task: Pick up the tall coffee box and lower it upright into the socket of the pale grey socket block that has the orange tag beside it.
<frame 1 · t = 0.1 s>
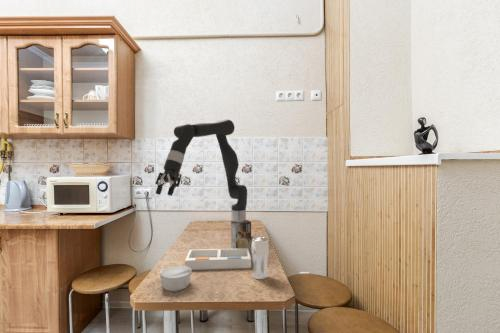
hand: (163, 194, 112), 31 cm above the table, tool tilted 20°, fingers open, 8 cm apart
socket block: (218, 262, 114), on the table
coffee box: (241, 252, 128), on the table
ramekin: (176, 286, 91), on the table
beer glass: (259, 276, 99), on the table
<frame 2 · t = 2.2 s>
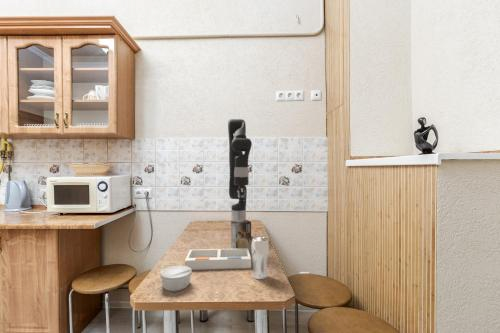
hand: (241, 207, 129), 23 cm above the table, tool pointing down, fingers open, 8 cm apart
nothing on the table moved.
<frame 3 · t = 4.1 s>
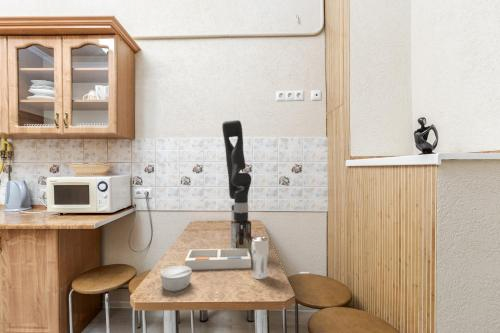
hand: (240, 242, 128), 5 cm above the table, tool pointing down, fingers closed on coffee box, 8 cm apart
coffee box: (241, 252, 128), on the table, touching gripper
everything else where it was.
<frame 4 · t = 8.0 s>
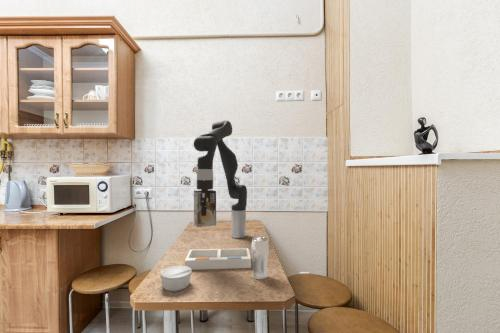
hand: (204, 214, 114), 22 cm above the table, tool pointing down, fingers closed on coffee box, 8 cm apart
coffee box: (204, 225, 114), point 17 cm above the table, touching gripper
everything else where it was.
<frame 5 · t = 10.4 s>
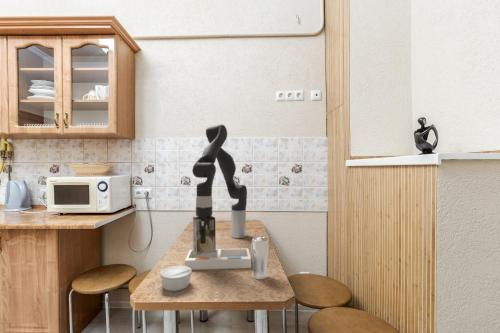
hand: (203, 240, 114), 10 cm above the table, tool pointing down, fingers closed on coffee box, 8 cm apart
coffee box: (204, 252, 114), point 5 cm above the table, touching gripper
everything else where it was.
when the fingers open (6 cm above the table, at t = 12.2 s): coffee box drops 1 cm, resting in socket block.
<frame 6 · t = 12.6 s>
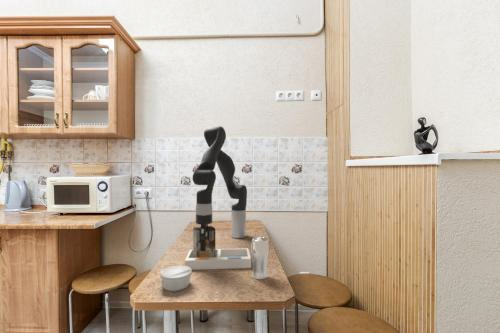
hand: (203, 248, 114), 7 cm above the table, tool pointing down, fingers open, 8 cm apart
coffee box: (204, 262, 114), resting in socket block
everything else where it was.
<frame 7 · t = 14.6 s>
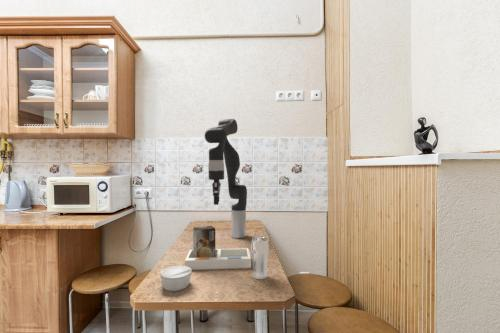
hand: (216, 203, 119), 27 cm above the table, tool pointing down, fingers open, 8 cm apart
nothing on the table moved.
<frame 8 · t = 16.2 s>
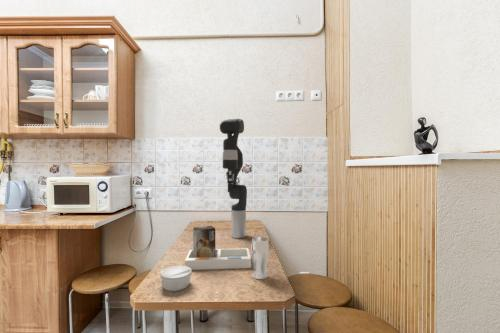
hand: (229, 191, 124), 32 cm above the table, tool pointing down, fingers open, 8 cm apart
nothing on the table moved.
at the end: coffee box 0.2 cm from the target spot on the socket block, point 0.0 cm above the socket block's base; coffee box tilted 0°; the gripper is holding nothing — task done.
